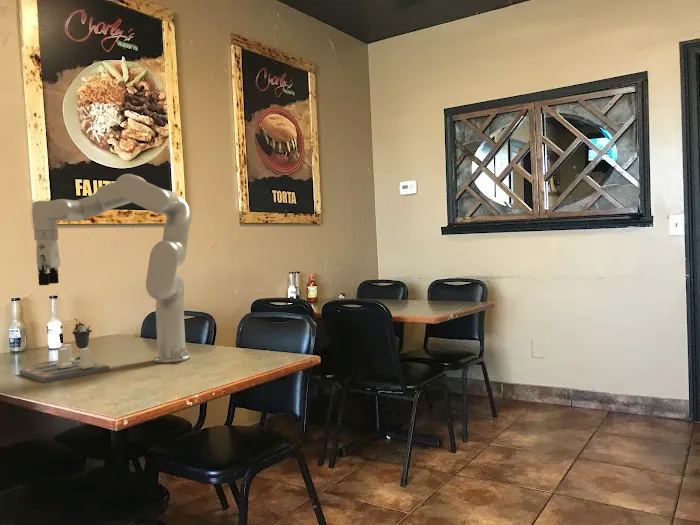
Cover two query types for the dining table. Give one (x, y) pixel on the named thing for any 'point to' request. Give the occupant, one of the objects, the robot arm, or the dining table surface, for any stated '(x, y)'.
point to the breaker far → (69, 351)
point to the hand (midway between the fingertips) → (49, 284)
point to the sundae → (81, 335)
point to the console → (61, 371)
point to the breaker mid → (63, 358)
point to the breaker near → (85, 358)
